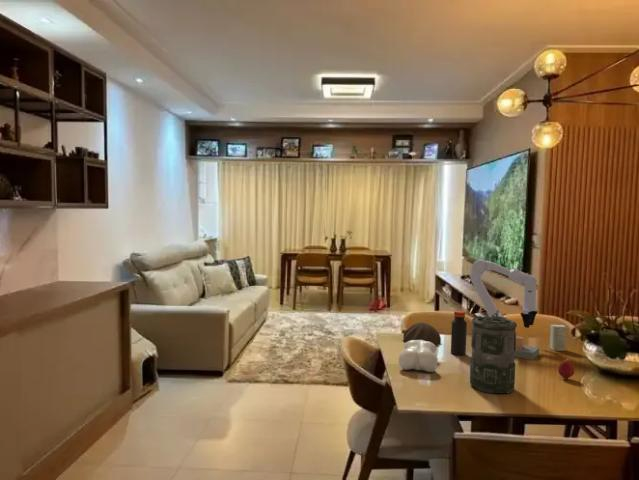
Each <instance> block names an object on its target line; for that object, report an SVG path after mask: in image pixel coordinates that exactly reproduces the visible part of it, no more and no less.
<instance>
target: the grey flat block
mask: <svg viewBox="0 0 639 480" xmlns="http://www.w3.org/2000/svg"><path fill="white" fill-rule="evenodd" d="M539 355H540V347H536V346H531V345H525V344H524V346H523V349H517V348H516V351H515V356H514V358H518V359H525V360H530V361H531V360H532V361H533V360H535V358H537V357H538V356H539Z"/></svg>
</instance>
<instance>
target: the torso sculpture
mask: <svg viewBox="0 0 639 480" xmlns="http://www.w3.org/2000/svg"><path fill="white" fill-rule="evenodd" d="M436 351H437V345H434V344H433V343H431V342H429V341H424V340H410V341H408V342H404V349H403V350H402V351H401V352H400V353H399V355H398V365H399V367H400V368H401V369H402V370H405V371H409V370H413V371H414V370H415V371H424V372H426V373H432V372H435V371H436V369H437V367H438V357H437V356H436V354H435V353H436Z"/></svg>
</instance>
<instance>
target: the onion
mask: <svg viewBox="0 0 639 480" xmlns="http://www.w3.org/2000/svg"><path fill="white" fill-rule="evenodd" d="M569 361H570V360H569V359H565V360H564V361H562V362H561V363H560V364H559V365H558V367H557V372H558V374H559V375H560V376H561V377H562V378H563V379H565V380H568V379H569V378H571V377H572V376H573V375H574V374H575V367H574V366H573V364H572V363H570V362H569Z"/></svg>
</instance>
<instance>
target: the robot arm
mask: <svg viewBox="0 0 639 480" xmlns="http://www.w3.org/2000/svg"><path fill="white" fill-rule="evenodd" d="M470 268H471V271H470V277H469V278H470V281H471V284H472V285H473V287H474V289H475V290H476V293H477V296H478V297H479V299H480V300H481V303H482V304H483V306H484V308H485V310H486V314H487V317H491V315H492V314H494V313H496V312H497V313H498V317H504V315H503V313H502V312H501V311H499V309H498V308H497V306H496V305H495V302H494V301H493V299H492V297H491V295H490V293H489V291H488V290H487V288H486V286H485V284H484V282H483V280H482V276H483V274H484V272H485V271H494V272H497V273H500V274H502V275H505V276H508V279H509V280H511V281H513V282H515V283H518V284H520V285H524V288H523V298H522V299H523V300H522V301H523V303H522V311H523V312H520V316H521V318H522V319H521V320H522V322H523V327H524V328H525V329H526V328H527V329H529V328H530V326H533V325H534V322H535V319H536V316H537V314H538V311H539V308H537V307H536V306H537V304H536V303H537V302H536V301H537V282H538V280H537V277H536V276H534V275H532V274H529V272H526V273H525V272H523V271H520V269H518V268H513V269H509V268H508V267H505V266H503V265H500V264H498V263H495V262H493V261H490V260H485V259H483V258H479V259H477V260H475V261H473V264H472V265H471V267H470ZM494 316H496V315H494ZM504 318H505V317H504Z"/></svg>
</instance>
